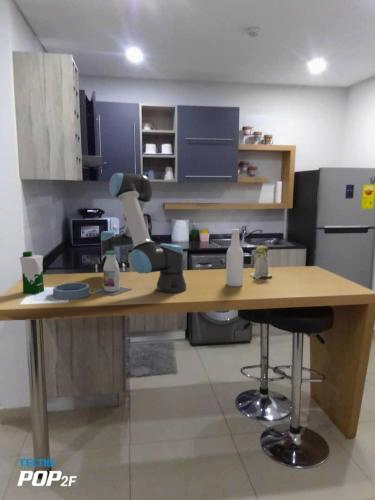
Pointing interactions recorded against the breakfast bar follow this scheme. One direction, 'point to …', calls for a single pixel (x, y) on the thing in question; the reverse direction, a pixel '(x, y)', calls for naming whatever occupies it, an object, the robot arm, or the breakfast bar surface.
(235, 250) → the alcohol
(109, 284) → the milk bottle
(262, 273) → the figurine
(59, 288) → the bowl
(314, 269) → the breakfast bar surface
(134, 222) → the robot arm
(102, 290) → the mat
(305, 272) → the breakfast bar surface
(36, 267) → the milk carton
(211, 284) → the breakfast bar surface
